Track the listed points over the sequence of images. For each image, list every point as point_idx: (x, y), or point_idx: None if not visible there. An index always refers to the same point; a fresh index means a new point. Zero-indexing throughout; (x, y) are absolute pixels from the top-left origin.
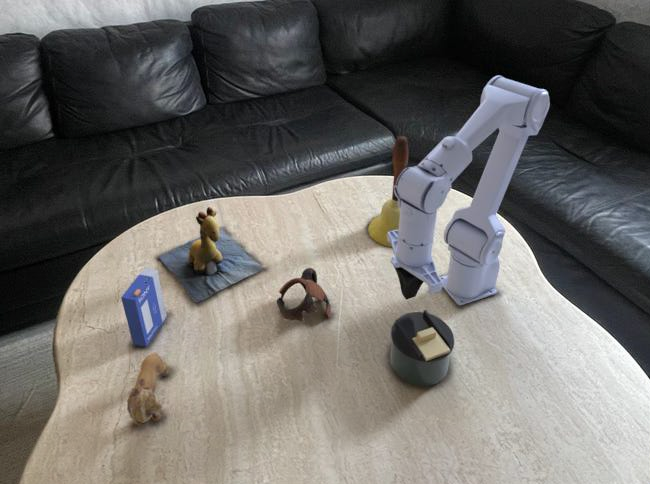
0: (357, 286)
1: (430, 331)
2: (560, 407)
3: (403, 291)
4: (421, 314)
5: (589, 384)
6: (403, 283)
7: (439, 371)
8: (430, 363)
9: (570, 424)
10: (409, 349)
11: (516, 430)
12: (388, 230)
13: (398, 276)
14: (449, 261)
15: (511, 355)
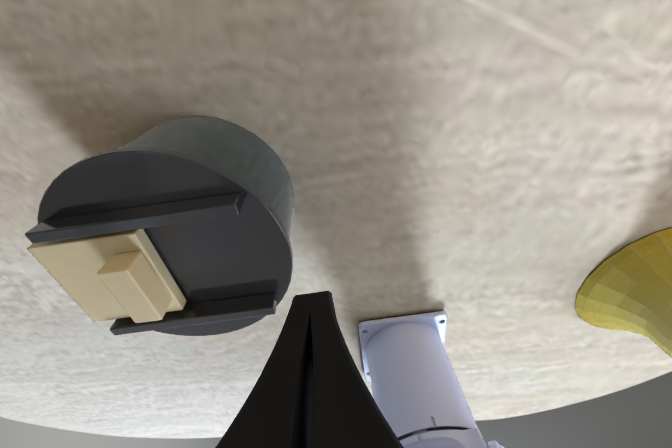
0: (545, 117)
1: (135, 310)
2: (112, 368)
3: (302, 325)
4: (274, 288)
5: (162, 404)
6: (283, 397)
7: None
8: None
9: (79, 368)
10: (95, 202)
11: (43, 306)
12: (668, 282)
13: (355, 394)
14: (450, 389)
15: (222, 350)
